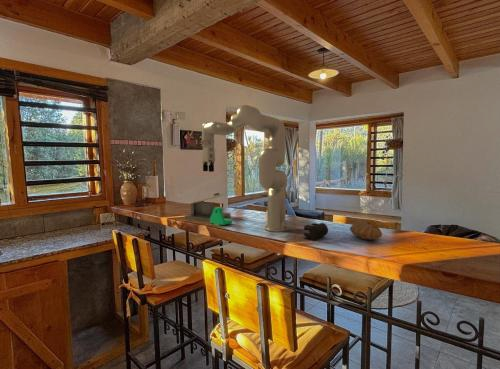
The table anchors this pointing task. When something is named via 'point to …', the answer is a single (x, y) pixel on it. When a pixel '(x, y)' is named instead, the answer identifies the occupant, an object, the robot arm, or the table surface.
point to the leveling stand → (203, 211)
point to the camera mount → (219, 217)
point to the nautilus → (365, 230)
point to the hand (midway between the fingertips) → (208, 171)
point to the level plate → (208, 197)
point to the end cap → (315, 231)
